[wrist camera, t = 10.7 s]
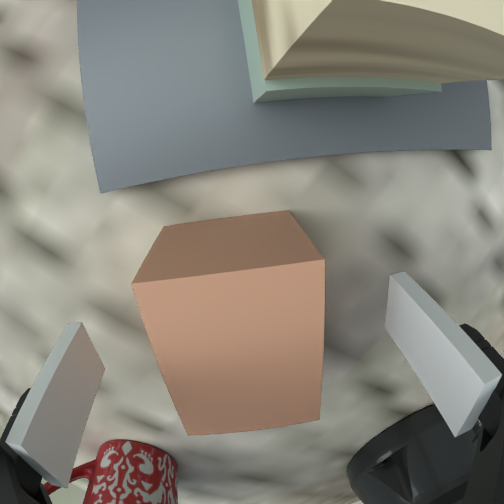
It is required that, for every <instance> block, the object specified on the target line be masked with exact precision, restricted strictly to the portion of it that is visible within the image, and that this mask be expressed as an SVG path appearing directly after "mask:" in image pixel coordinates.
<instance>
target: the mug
mask: <svg viewBox="0 0 504 504" xmlns="http://www.w3.org/2000/svg"><path fill="white" fill-rule="evenodd" d="M80 478H87V479H89V484H88V488H87V491H86V494H85V498H84V501H83V504H178V497H177V483H178V482H177V464H176V462H175V461H174V459H173V458H172V457H171V456H169V455H168V454H167V453H165V452H163V451H161V450H159V449H157V448H155V447H152V446H150V445H147V444H143V443H139V442H134V441H127V440H113V441H108V442H106V443H104V444H102V445H101V446H100V448H99V451H98V454H97V457H96V459H95V460H93V461H91V462H88V463H85V464H83V465H80V466H78V467H76V468H73V470H72V473H71V477H70V481H69V483H70V482H72V481H75V480H77V479H80ZM44 487H45V488H46V491H47V493H48V495H50V494H51V493H52V492H54V491H56V490H57V489H59V488H61V487H59V486H55V485H51V484H50V483H49V482H47V483H45V484H44Z"/></svg>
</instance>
